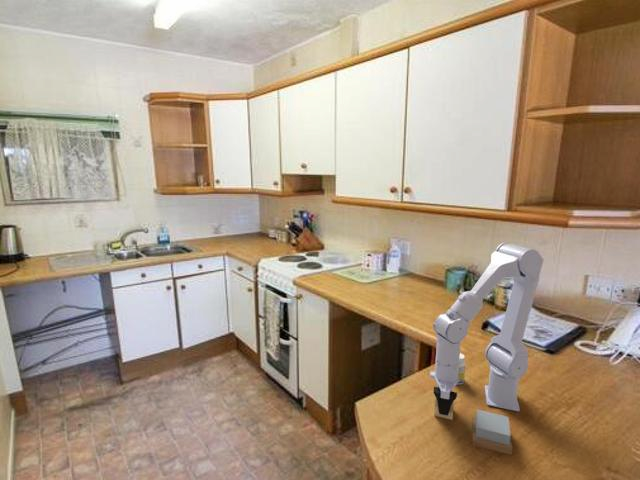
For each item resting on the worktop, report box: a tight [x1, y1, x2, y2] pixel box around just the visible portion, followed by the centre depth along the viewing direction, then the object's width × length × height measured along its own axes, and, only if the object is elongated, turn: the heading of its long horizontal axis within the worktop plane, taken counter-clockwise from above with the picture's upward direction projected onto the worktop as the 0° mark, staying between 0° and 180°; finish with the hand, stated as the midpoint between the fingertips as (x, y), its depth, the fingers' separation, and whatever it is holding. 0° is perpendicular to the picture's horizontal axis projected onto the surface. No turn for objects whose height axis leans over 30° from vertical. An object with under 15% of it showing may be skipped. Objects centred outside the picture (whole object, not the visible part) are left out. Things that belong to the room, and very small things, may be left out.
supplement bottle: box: [456, 352, 466, 385], centre depth 110 cm, size 5×5×8 cm
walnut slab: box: [471, 416, 513, 455], centre depth 87 cm, size 8×8×2 cm
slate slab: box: [475, 409, 511, 445], centre depth 86 cm, size 7×7×2 cm
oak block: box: [433, 396, 455, 421], centre depth 96 cm, size 4×4×5 cm
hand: (443, 407), depth 96 cm, fingers open, 5 cm apart
